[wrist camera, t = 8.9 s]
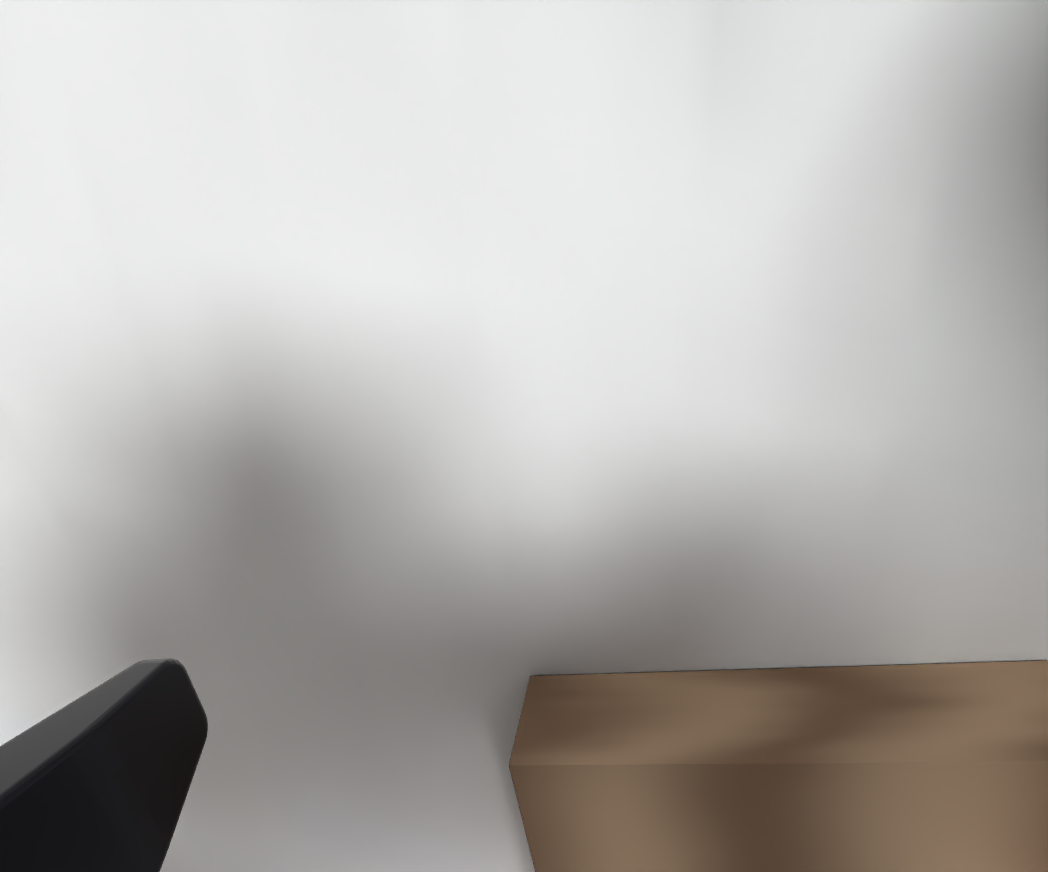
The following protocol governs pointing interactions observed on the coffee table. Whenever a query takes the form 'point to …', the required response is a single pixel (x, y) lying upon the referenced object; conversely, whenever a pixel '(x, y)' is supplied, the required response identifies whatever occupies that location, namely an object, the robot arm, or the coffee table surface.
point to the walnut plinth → (787, 769)
